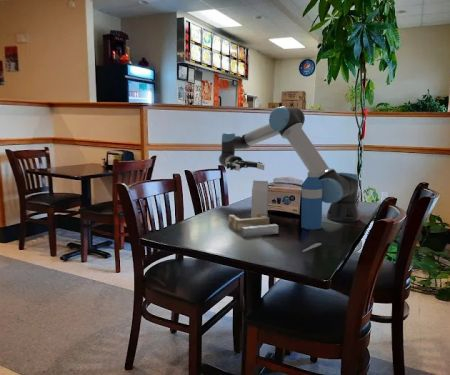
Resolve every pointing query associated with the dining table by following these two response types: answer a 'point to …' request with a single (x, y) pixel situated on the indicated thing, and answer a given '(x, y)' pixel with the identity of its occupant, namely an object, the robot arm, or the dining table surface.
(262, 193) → the light grey rectangular block
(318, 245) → the butter knife
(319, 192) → the water bottle
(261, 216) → the cradle
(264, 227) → the stop rail
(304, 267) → the dining table surface
